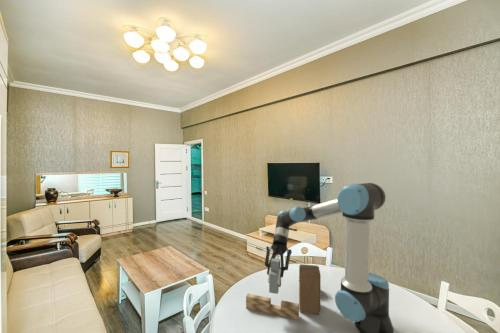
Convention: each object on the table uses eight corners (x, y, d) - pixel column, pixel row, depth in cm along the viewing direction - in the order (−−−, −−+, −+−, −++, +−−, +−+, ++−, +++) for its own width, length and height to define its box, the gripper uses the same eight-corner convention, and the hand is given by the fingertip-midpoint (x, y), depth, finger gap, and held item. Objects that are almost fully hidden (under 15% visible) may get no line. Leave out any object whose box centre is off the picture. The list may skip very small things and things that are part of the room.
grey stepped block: (273, 283, 116) (273, 256, 116) (281, 285, 115) (281, 257, 115) (269, 292, 108) (269, 263, 108) (277, 294, 107) (277, 264, 107)
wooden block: (320, 315, 109) (320, 273, 109) (299, 312, 111) (299, 271, 111) (318, 303, 119) (318, 265, 119) (299, 300, 121) (299, 263, 121)
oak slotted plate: (298, 316, 109) (298, 303, 109) (298, 319, 106) (298, 306, 106) (247, 305, 117) (247, 293, 117) (246, 308, 115) (246, 296, 115)
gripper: (297, 242, 123) (292, 289, 108) (266, 239, 129) (258, 282, 113) (296, 236, 118) (290, 283, 103) (264, 232, 124) (254, 277, 108)
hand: (273, 282), depth 108 cm, fingers closed on grey stepped block, 4 cm apart
